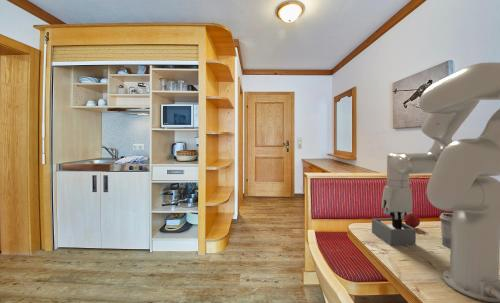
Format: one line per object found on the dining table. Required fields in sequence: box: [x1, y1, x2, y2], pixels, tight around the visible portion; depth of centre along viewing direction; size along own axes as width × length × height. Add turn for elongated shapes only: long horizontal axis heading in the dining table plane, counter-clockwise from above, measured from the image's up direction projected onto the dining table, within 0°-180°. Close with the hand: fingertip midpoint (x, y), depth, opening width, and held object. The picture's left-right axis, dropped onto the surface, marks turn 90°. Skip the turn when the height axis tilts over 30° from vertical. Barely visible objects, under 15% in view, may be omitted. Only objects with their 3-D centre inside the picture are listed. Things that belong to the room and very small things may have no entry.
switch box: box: [371, 217, 417, 246], centre depth 92 cm, size 13×10×6 cm
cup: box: [439, 212, 454, 249], centre depth 85 cm, size 7×7×12 cm
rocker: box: [381, 221, 404, 229], centre depth 92 cm, size 8×5×1 cm, turn 2°
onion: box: [403, 211, 421, 229], centre depth 102 cm, size 6×6×8 cm
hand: (397, 227), depth 89 cm, fingers closed
